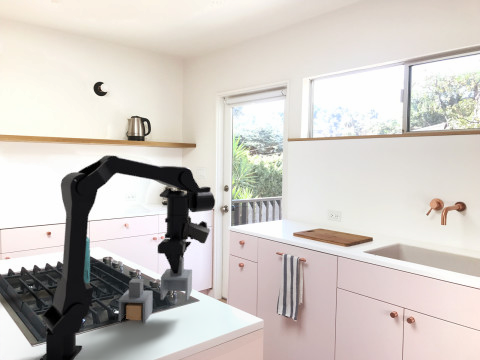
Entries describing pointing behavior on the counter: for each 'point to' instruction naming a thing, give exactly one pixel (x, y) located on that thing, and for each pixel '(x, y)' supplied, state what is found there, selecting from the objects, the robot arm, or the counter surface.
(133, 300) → the cover
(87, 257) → the beverage bottle
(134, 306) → the brown cube
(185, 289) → the cover
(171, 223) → the robot arm
